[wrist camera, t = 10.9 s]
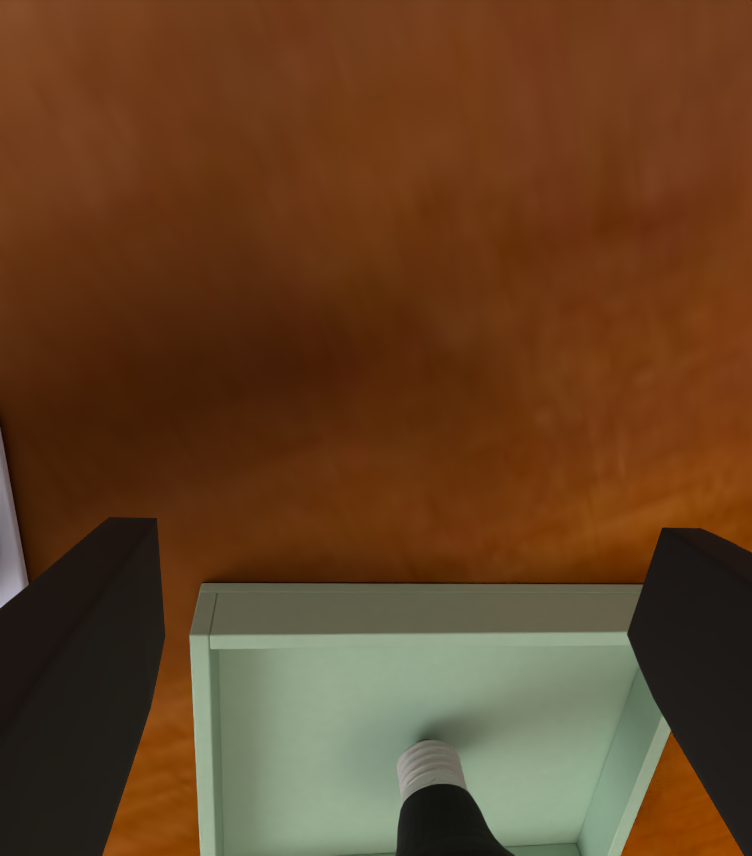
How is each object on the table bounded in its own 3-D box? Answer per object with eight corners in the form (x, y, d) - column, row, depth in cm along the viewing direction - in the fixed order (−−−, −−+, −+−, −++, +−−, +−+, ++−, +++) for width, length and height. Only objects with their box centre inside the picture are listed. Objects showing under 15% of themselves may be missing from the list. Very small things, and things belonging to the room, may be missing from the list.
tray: (211, 858, 28) (203, 922, 25) (201, 582, 21) (189, 635, 19) (581, 839, 30) (604, 896, 28) (672, 583, 23) (711, 631, 21)
